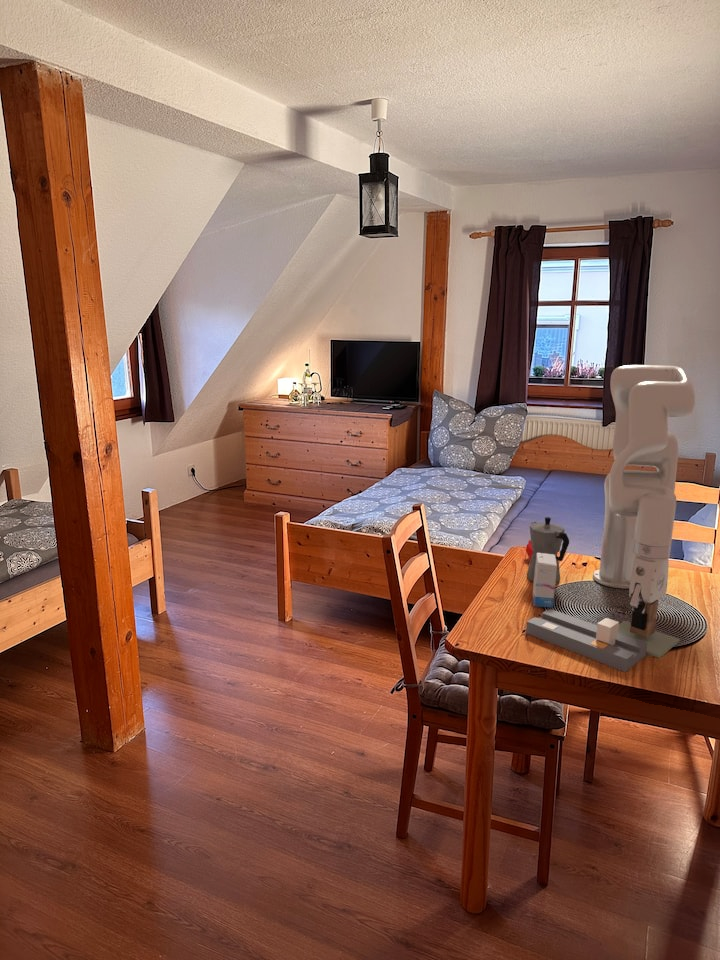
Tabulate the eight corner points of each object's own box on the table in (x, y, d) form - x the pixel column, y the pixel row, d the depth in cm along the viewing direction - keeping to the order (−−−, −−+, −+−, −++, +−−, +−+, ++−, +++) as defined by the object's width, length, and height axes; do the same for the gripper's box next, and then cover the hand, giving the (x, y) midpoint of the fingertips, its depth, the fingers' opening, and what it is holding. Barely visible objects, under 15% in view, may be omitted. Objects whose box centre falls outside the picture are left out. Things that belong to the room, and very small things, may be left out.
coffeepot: (515, 572, 194) (519, 512, 189) (541, 567, 198) (546, 509, 193) (550, 592, 180) (555, 528, 176) (577, 587, 184) (583, 524, 179)
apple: (558, 545, 200) (538, 530, 205) (543, 554, 197) (523, 538, 202) (553, 562, 205) (533, 546, 210) (537, 570, 201) (518, 554, 206)
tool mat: (624, 622, 163) (624, 620, 163) (679, 641, 154) (679, 639, 154) (602, 637, 156) (603, 635, 155) (659, 658, 146) (659, 655, 146)
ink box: (554, 608, 171) (557, 564, 168) (533, 606, 172) (537, 563, 169) (551, 595, 179) (555, 553, 176) (532, 593, 180) (535, 551, 177)
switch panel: (548, 619, 164) (549, 608, 164) (645, 655, 148) (647, 642, 147) (525, 633, 158) (526, 621, 157) (625, 672, 141) (626, 658, 140)
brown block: (637, 626, 157) (643, 578, 154) (654, 632, 154) (660, 583, 151) (629, 631, 154) (635, 583, 151) (646, 637, 151) (652, 588, 149)
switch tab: (603, 638, 151) (606, 617, 150) (616, 642, 149) (618, 622, 148) (595, 644, 148) (597, 623, 147) (608, 648, 146) (610, 627, 145)
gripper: (652, 563, 141) (643, 642, 146) (683, 544, 152) (674, 619, 157) (618, 553, 146) (609, 631, 151) (650, 536, 158) (642, 608, 162)
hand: (642, 624), depth 154 cm, fingers closed on brown block, 3 cm apart
